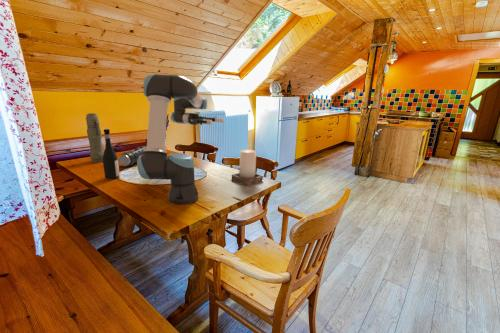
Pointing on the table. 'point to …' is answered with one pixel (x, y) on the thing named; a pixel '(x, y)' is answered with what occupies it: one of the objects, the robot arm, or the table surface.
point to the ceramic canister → (247, 164)
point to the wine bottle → (110, 159)
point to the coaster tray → (247, 182)
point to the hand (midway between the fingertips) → (218, 121)
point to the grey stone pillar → (94, 138)
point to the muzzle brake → (131, 156)
